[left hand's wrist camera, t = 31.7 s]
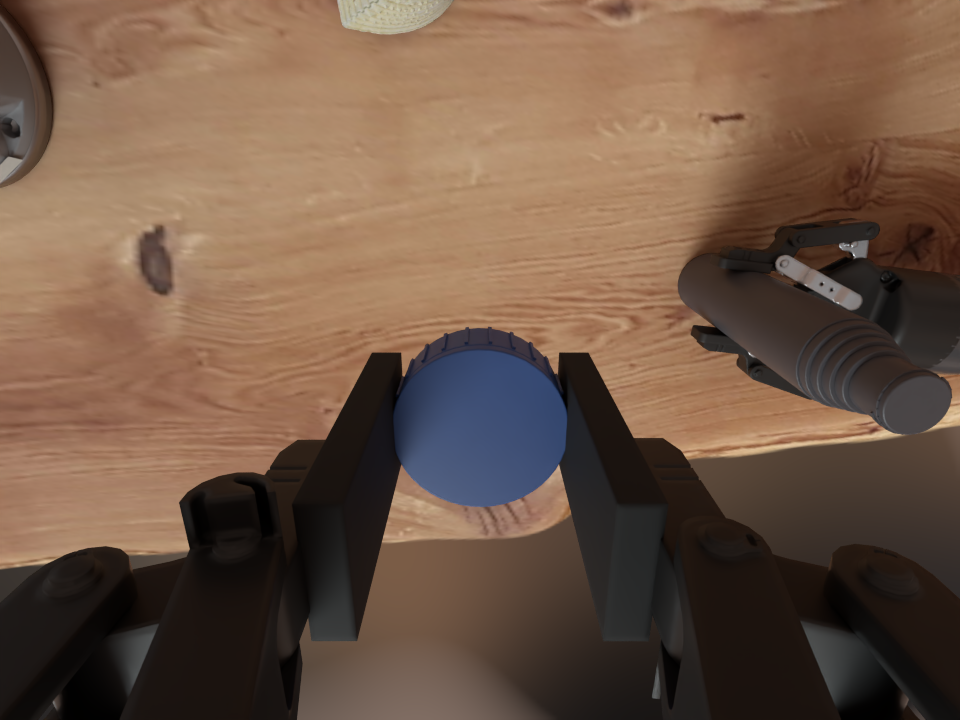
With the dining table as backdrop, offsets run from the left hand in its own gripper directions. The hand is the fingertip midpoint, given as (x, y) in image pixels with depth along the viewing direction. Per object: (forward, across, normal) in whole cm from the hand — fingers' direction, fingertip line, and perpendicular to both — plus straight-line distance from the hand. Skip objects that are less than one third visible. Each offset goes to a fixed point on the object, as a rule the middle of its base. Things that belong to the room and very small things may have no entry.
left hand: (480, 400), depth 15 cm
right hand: (+27, +17, -4) cm, 32 cm away
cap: (-1, 0, 0) cm, 1 cm away
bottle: (+33, +19, -4) cm, 38 cm away
